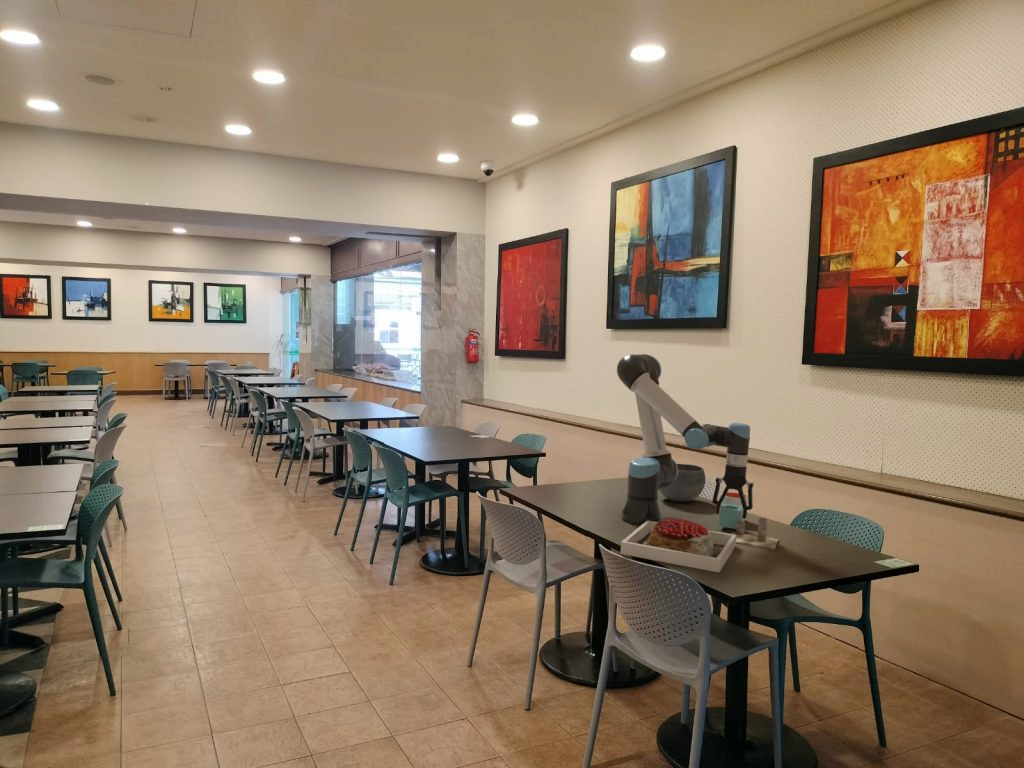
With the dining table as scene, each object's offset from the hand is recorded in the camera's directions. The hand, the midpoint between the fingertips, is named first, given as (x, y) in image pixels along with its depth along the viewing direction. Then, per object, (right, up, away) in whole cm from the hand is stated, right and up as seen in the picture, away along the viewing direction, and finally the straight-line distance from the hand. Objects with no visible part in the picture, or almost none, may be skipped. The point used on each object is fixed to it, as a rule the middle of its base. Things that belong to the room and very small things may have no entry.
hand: (730, 524), depth 266 cm
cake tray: (-26, -3, -29) cm, 39 cm away
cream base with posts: (+4, -3, -14) cm, 15 cm away
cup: (+5, -1, +14) cm, 15 cm away
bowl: (-9, +2, +43) cm, 44 cm away
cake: (-27, -3, -30) cm, 41 cm away
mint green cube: (0, 0, 0) cm, 0 cm away
